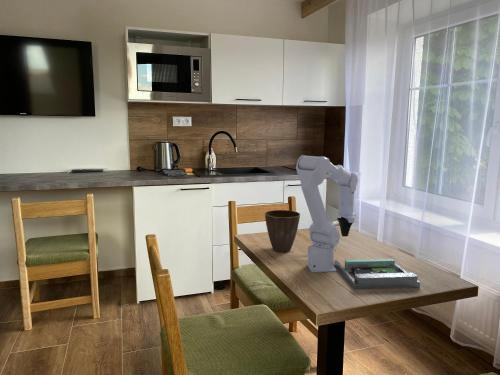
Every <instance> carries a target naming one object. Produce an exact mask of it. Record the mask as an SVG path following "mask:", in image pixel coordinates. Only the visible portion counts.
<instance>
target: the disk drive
mask: <svg viewBox="0 0 500 375" xmlns="http://www.w3.org/2000/svg"><path fill="white" fill-rule="evenodd" d="M376 273H399V272H397V271H396V270H395V269H393V267H391V268H390V267H371V268H353V272H352V274H353V275H354V276H355V274H376Z"/></svg>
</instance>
